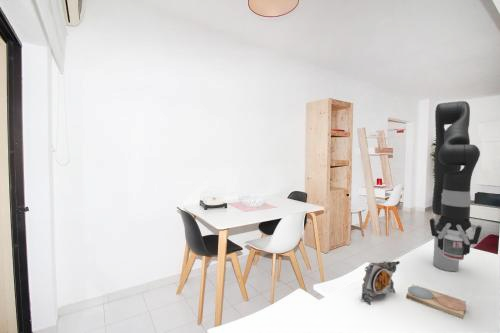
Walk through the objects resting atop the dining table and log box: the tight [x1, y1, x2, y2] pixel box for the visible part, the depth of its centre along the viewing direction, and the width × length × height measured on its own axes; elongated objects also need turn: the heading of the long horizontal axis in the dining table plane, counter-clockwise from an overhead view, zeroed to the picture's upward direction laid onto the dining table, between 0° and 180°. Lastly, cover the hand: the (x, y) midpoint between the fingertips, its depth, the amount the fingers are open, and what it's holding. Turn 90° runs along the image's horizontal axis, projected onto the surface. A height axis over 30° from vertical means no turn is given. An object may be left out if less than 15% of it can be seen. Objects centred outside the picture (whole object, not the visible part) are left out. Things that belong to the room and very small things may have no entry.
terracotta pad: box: [437, 295, 467, 312], centre depth 86 cm, size 8×8×1 cm
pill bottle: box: [442, 229, 465, 262], centre depth 85 cm, size 6×6×10 cm
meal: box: [361, 260, 400, 306], centre depth 92 cm, size 15×4×13 cm, turn 115°
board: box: [405, 283, 467, 319], centre depth 89 cm, size 10×16×1 cm, turn 45°
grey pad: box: [407, 285, 434, 299], centre depth 93 cm, size 8×8×1 cm
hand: (452, 251), depth 85 cm, fingers closed on pill bottle, 5 cm apart
